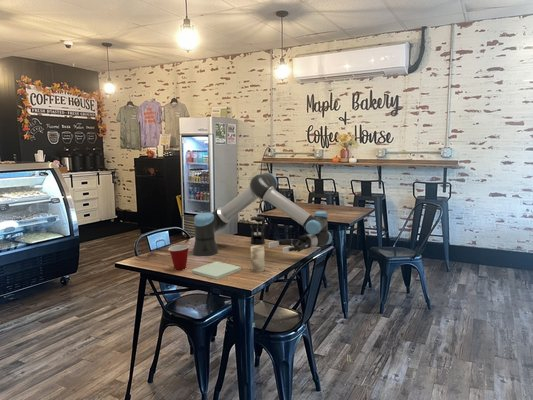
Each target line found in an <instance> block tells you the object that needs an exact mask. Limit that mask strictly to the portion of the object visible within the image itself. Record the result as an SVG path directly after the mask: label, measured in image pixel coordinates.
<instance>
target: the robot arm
mask: <svg viewBox="0 0 533 400" xmlns="http://www.w3.org/2000/svg"><path fill="white" fill-rule="evenodd" d="M277 188H278V179H277V177H276V176H275V175H274V174H273V173H270V172H265V173H261V174H256V175H255V176H253V177H252V178H251V180H250V182H249V185H248V187H247V188H246V189H245V190H243V191H242V192H241V193H239V194H238V195H237V196H235V197H234V198H233V199H232V200H230V201H229V202H228V203H227V204H225V205H224V206H223V207H222V206H221V207H217V208H215V210H213V211H212V212H202V213H201V212H200V213H198V214H196V215H195V216H194V217H193V219H194V222H193V225H194V244H193V248H192V254H193V255H194V256H198V257H199V256H200V257H201V256H204V257H206V256H212V255H216V254H218V253H219V248H218V246H217V242H216V238H215V233H216V232H218V231H221V230H223V229H225V228H226V227H227V225H229V224H230V223H231V221H232V220H231V219H233V218H234V217H235V216H236V215H238V214H239V213H241V212H242V211H243V210H245V209H246V208H247V207H248V206H250V205H251V204H252V203H254V202H255V201H256V200H258V199H260V200H262V201H264V202H265V201H266V202H268V203H269V204H271V206H274V207H275V208H277V209H278V210H279V211H281V212H282V213H283V214H285V215H287V216H288V217H289V218H291V219H292V220H294V221H295V222H297V224H299V225H301V226H302V227H303V228H305V230H306V232H307V234H305V235H300V236H299V237H298V238H296V239H295V238H290V239H289V238H285V239H276V240H275V241H270V242H268V243H267V245H268V249H270V248H271V249H272V248H275V247H280V246H285V247H282V254H286V253H291V252H302V251H303V250H306V249H307V250H308V249H313V248H317V247H322V246H327V245H329V244H331V243H332V241H333V236H332V233H331V232H330V231H328V212H327V211H325V210H323V211H322V210H319V211H318V210H317V211H314V213H313V215H312V214H310V213H309V212H308V211H306V210H305V209H304V208H302V207H300V206H299V205H298V204H296V203H294V202H293V201H291V200H290V199H289V198H287V197H286V196H284V195H283V194H282V193H280V192H278V191H277Z"/></svg>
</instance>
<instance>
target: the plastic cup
mask: <svg viewBox="0 0 533 400" xmlns="http://www.w3.org/2000/svg"><path fill="white" fill-rule="evenodd" d="M189 248H190V245H188V244H177V245H174V246H173V245H172V246H170V247H169V248H168V252H169V254H170V256H171V260H172V264H173V268H174V270H175V269H176V270H175V271H178V270H180V271H184V270H183V269H185V268H187V263H188V254H189ZM185 270H186V269H185Z"/></svg>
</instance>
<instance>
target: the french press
mask: <svg viewBox="0 0 533 400" xmlns="http://www.w3.org/2000/svg"><path fill="white" fill-rule="evenodd" d="M260 209H261V208H259V207H256V208H253V210H255V211H256V212H259V211H258V210H260ZM264 219H265V217H264V216H251V217H250V221H251V222H252V221H255V222H256V223H252V224H250V229H251V233H250V234H251V237H250V245H252V246H255V245H261V246H262V245H264V244H266V241H265V238H266V224H265V223H261V222H264ZM255 229H256V232H255ZM258 229H260V231H259V230H258Z"/></svg>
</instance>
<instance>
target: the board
mask: <svg viewBox="0 0 533 400" xmlns="http://www.w3.org/2000/svg"><path fill="white" fill-rule="evenodd" d="M240 271H242V267H241V266H237V265H234V264H231V263H230V264H229V263H224V262H221V261H217V260H216V261H214V262H209V263H208V264H204V265H202V266H198V267H195V268H193V269H191V270H190V273H191V272H192V273H191V274H194V273H195V275H197V274H198V275H197V276H202V277H204V278H209V279H213V280H219V279H222V278H224V277H227V276H229V275H232V274H234V273H237V272H240Z"/></svg>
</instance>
